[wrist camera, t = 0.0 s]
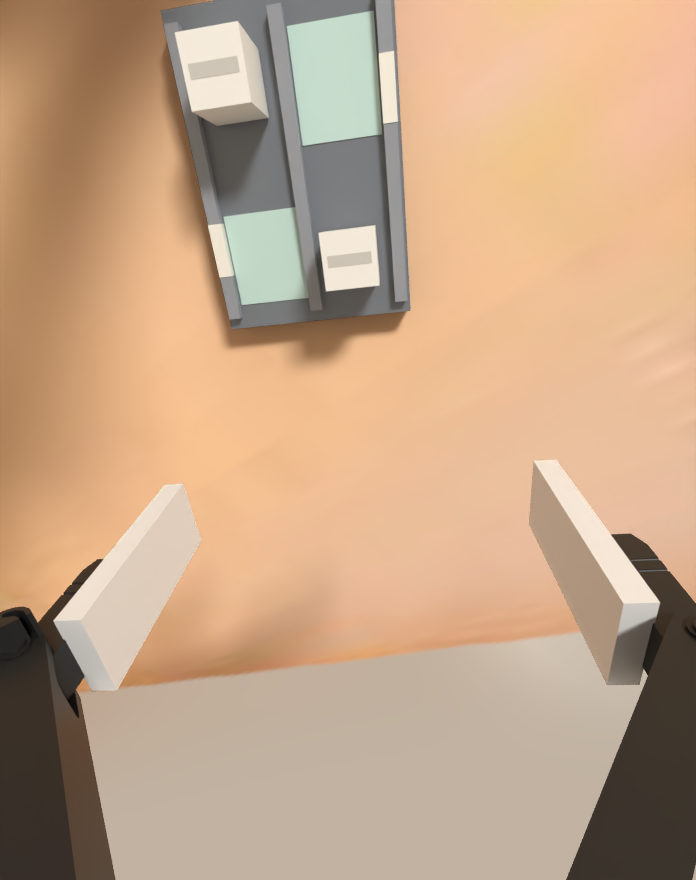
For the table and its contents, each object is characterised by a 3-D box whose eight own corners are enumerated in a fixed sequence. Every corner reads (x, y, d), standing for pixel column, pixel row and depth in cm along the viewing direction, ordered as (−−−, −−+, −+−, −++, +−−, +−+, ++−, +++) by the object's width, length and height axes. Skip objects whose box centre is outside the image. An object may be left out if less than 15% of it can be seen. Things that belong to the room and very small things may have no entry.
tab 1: (203, 58, 32) (174, 32, 27) (258, 49, 31) (237, 20, 27) (217, 126, 34) (191, 111, 29) (269, 118, 33) (251, 101, 29)
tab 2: (326, 231, 36) (318, 232, 32) (375, 225, 36) (374, 225, 31) (332, 282, 38) (326, 291, 34) (379, 277, 38) (379, 285, 33)
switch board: (172, 21, 33) (154, 5, 30) (391, -19, 31) (392, -40, 29) (238, 324, 42) (229, 331, 40) (409, 306, 41) (410, 312, 38)
